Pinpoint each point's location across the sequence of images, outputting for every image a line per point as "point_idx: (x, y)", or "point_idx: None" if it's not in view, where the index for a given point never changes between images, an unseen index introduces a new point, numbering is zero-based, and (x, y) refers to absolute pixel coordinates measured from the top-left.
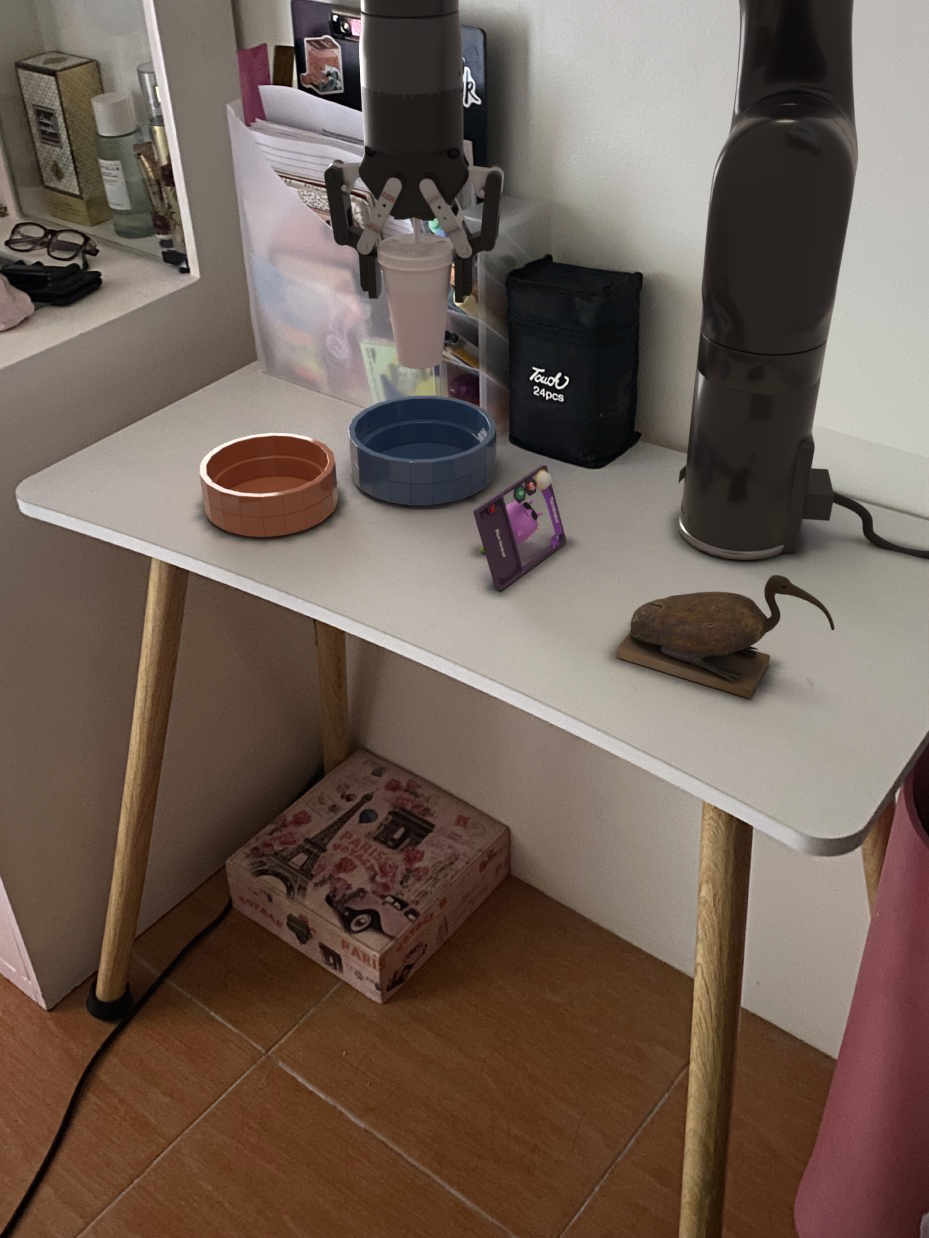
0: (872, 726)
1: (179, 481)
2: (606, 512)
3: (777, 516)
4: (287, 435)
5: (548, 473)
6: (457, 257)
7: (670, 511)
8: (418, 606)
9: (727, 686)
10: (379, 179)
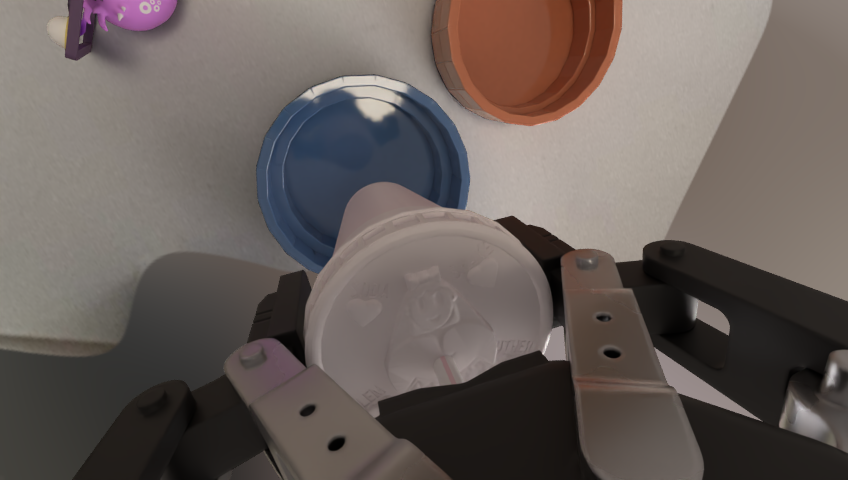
0: None
1: (627, 60)
2: (75, 154)
3: None
4: (538, 118)
5: (53, 38)
6: (291, 346)
7: None
8: None
9: None
10: (739, 476)
